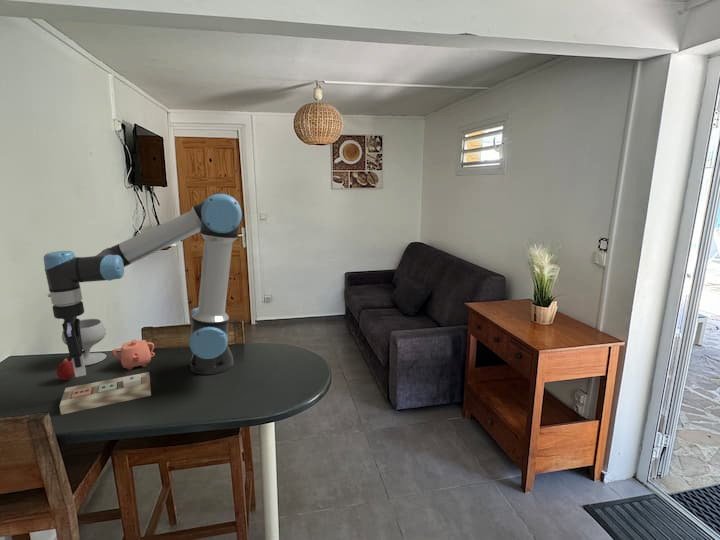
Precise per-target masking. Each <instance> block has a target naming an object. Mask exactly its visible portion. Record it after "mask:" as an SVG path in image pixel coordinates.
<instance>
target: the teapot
mask: <svg viewBox="0 0 720 540" xmlns="http://www.w3.org/2000/svg"><path fill="white" fill-rule="evenodd" d="M149 345H151V349H150V347H149ZM154 349H155V344H154V343H153V342H151V341H150V342H149V341H147V339H141V340H137V339H132V340H130V342H125V343H122V345H121V347H118V348H113V349H112V350H111V354H112V355H113V356H114V357H116V358H118V359H119V360H120V363H121V366H122V368H123V369H126V370H127V371H130V370H133V369H134V368H135V367H139V366H141V367H142V368H146V367H148V364H150V363H151V361H152V358H153V357H155V356H156V354H155V352H154ZM118 351H120V355H119V354H118V353H117V352H118Z"/></svg>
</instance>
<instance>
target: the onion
mask: <svg viewBox="0 0 720 540" xmlns="http://www.w3.org/2000/svg"><path fill="white" fill-rule="evenodd" d="M68 359H69V358H67V357H66V358H64V359H63V361H61V363H59V364H58V366H57V367H56V375H57V377H58V378H59V379H60V380H64V381H70V380H71V379H72V378H73V377H75V373H74V367H73V362H71V360H68Z"/></svg>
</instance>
